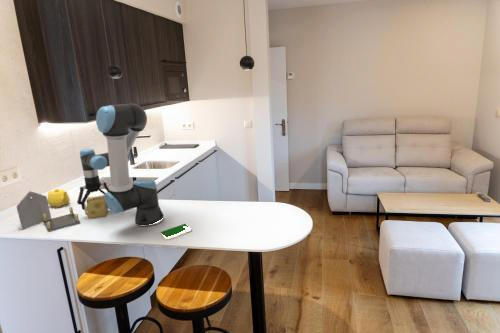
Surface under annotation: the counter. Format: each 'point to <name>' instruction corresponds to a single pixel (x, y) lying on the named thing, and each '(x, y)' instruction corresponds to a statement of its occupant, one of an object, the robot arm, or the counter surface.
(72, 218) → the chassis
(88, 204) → the cheese
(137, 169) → the counter surface
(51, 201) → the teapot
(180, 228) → the dish sponge
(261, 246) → the counter surface
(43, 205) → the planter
